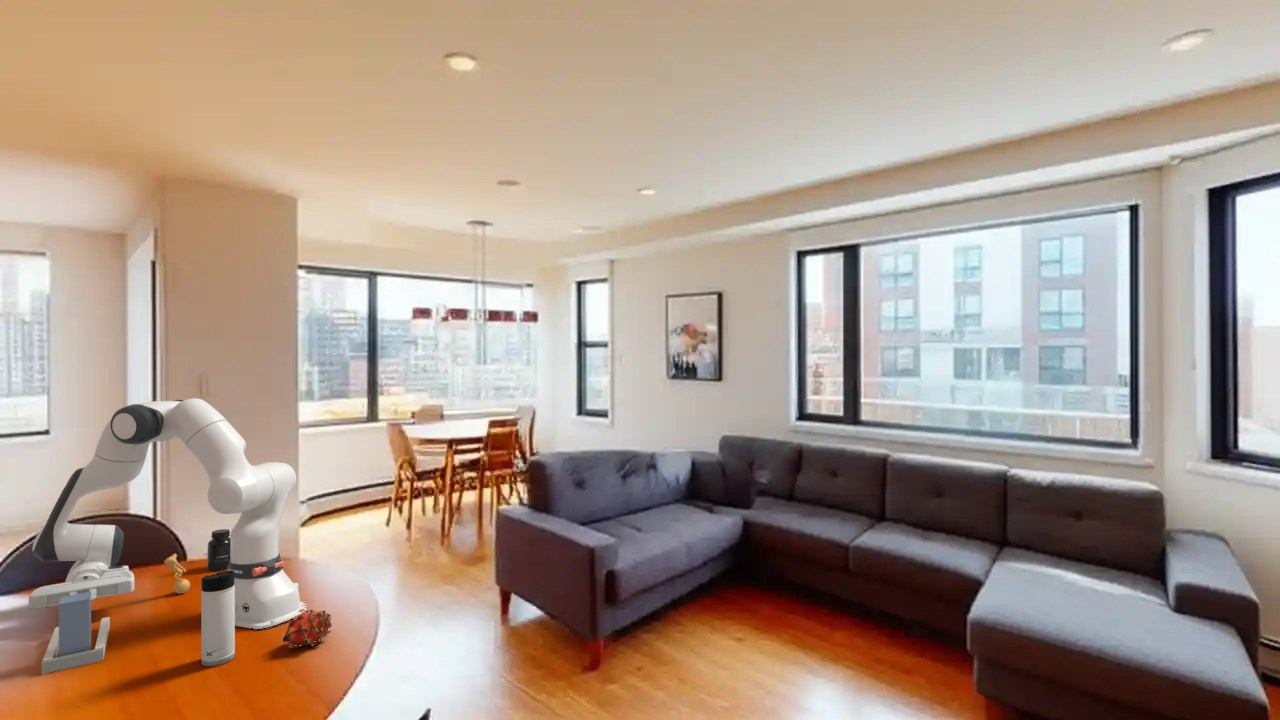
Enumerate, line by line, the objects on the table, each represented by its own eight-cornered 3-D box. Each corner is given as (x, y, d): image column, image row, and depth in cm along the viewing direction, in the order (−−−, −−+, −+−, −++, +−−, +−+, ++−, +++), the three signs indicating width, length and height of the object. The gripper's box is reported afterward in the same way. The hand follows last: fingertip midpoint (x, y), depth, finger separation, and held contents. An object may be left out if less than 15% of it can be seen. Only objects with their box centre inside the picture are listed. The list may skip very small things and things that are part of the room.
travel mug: (210, 670, 135) (209, 579, 135) (196, 661, 138) (196, 573, 138) (240, 658, 140) (240, 571, 140) (226, 650, 144) (226, 565, 143)
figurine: (198, 593, 177) (197, 551, 177) (175, 600, 172) (175, 558, 172) (180, 588, 181) (180, 547, 181) (157, 595, 175) (157, 554, 175)
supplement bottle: (219, 572, 194) (219, 534, 194) (201, 570, 195) (201, 533, 195) (238, 565, 200) (238, 528, 200) (220, 563, 202) (220, 527, 202)
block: (61, 658, 140) (61, 597, 139) (91, 651, 143) (91, 591, 142) (58, 667, 136) (58, 604, 135) (89, 660, 139) (89, 598, 139)
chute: (55, 637, 149) (55, 627, 149) (109, 626, 156) (109, 616, 156) (41, 674, 132) (41, 663, 132) (103, 660, 139) (103, 649, 139)
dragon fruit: (336, 640, 152) (288, 668, 142) (317, 615, 155) (268, 641, 145) (344, 619, 149) (295, 647, 139) (325, 594, 152) (275, 619, 141)
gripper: (32, 580, 157) (22, 597, 146) (135, 564, 170) (134, 579, 159) (31, 604, 157) (22, 624, 146) (135, 586, 170) (133, 603, 159)
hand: (81, 600), depth 153 cm, fingers closed
